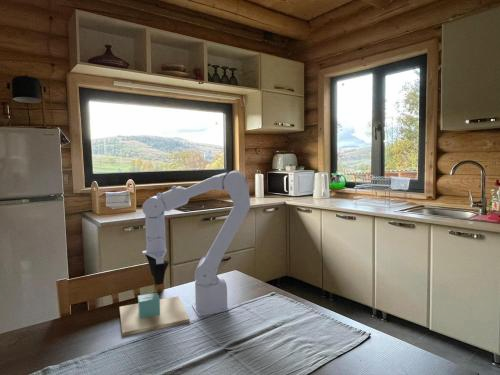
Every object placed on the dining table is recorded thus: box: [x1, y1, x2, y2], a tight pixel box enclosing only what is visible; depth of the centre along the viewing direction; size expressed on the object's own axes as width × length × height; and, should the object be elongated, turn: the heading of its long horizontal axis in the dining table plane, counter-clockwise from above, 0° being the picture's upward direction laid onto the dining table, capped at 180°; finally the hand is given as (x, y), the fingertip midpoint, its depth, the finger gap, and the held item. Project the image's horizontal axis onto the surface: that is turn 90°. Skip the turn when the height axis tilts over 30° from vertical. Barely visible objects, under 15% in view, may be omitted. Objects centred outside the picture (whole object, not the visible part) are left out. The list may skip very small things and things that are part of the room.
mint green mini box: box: [137, 292, 161, 319], centre depth 98 cm, size 6×4×5 cm
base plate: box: [119, 296, 191, 337], centre depth 98 cm, size 18×16×5 cm
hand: (157, 279), depth 102 cm, fingers open, 7 cm apart
